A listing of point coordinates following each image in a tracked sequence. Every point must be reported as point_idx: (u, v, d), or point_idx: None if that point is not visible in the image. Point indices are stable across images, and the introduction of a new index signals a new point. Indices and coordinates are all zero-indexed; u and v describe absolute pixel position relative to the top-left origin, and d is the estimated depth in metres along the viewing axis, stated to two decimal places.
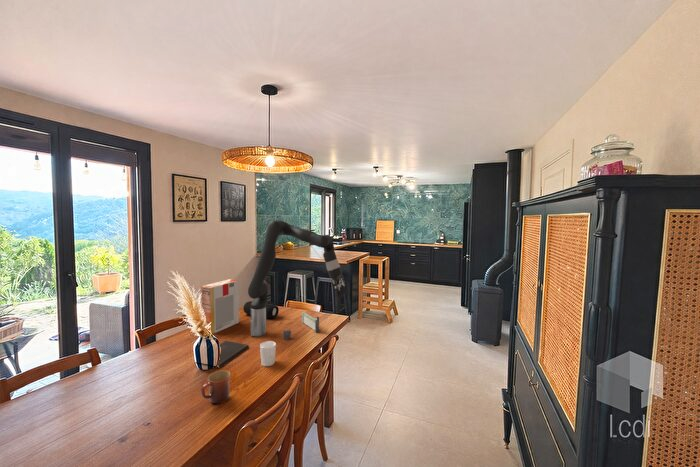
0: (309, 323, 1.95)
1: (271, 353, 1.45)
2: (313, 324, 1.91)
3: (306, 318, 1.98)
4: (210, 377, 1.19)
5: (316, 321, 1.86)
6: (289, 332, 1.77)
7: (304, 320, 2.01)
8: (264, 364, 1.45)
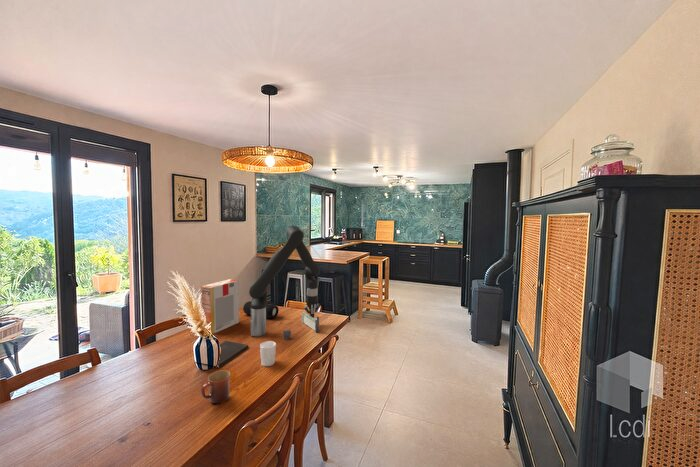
0: (309, 323, 1.95)
1: (271, 353, 1.45)
2: (313, 324, 1.91)
3: (306, 318, 1.98)
4: (210, 377, 1.19)
5: (316, 321, 1.86)
6: (289, 332, 1.77)
7: (304, 320, 2.01)
8: (264, 364, 1.45)
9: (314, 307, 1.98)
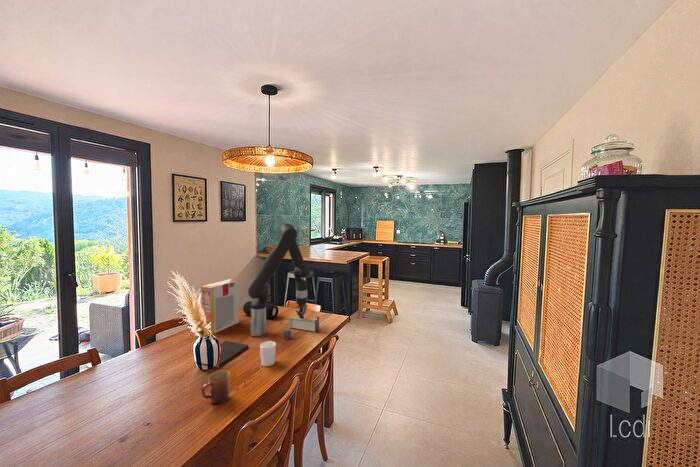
0: (303, 326, 1.90)
1: (271, 353, 1.45)
2: (311, 325, 1.88)
3: (297, 322, 1.91)
4: (210, 377, 1.19)
5: (316, 321, 1.86)
6: (289, 332, 1.77)
7: (294, 325, 1.92)
8: (264, 364, 1.45)
9: (304, 308, 1.94)
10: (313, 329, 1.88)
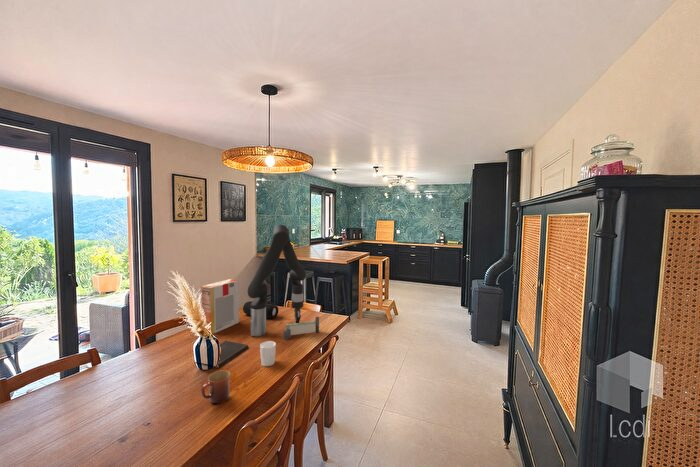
0: (303, 330, 1.84)
1: (271, 353, 1.45)
2: (311, 327, 1.86)
3: (296, 327, 1.82)
4: (210, 377, 1.19)
5: (316, 321, 1.86)
6: (289, 332, 1.77)
7: (291, 331, 1.82)
8: (264, 364, 1.45)
9: None
10: (313, 330, 1.87)
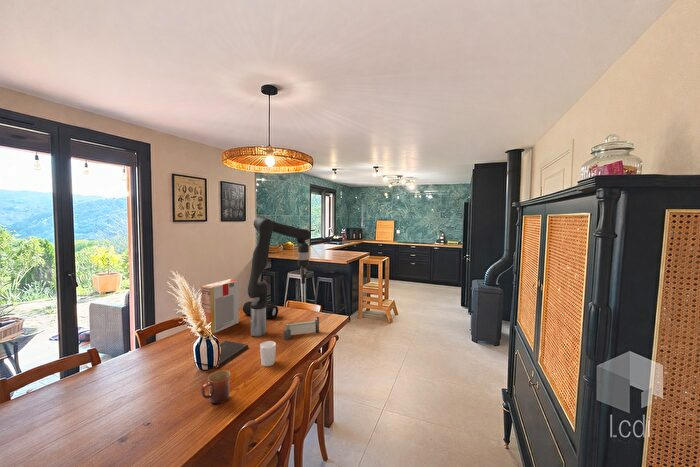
0: (303, 330, 1.84)
1: (271, 353, 1.45)
2: (311, 327, 1.86)
3: (296, 327, 1.82)
4: (210, 377, 1.19)
5: (316, 321, 1.86)
6: (289, 332, 1.77)
7: (291, 331, 1.82)
8: (264, 364, 1.45)
9: None
10: (313, 330, 1.87)
